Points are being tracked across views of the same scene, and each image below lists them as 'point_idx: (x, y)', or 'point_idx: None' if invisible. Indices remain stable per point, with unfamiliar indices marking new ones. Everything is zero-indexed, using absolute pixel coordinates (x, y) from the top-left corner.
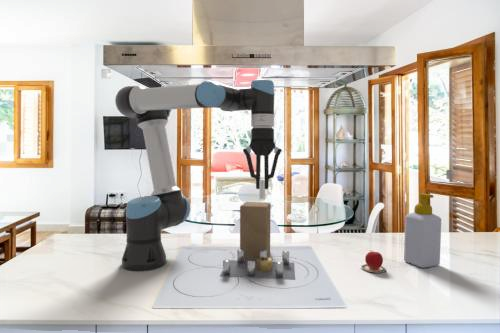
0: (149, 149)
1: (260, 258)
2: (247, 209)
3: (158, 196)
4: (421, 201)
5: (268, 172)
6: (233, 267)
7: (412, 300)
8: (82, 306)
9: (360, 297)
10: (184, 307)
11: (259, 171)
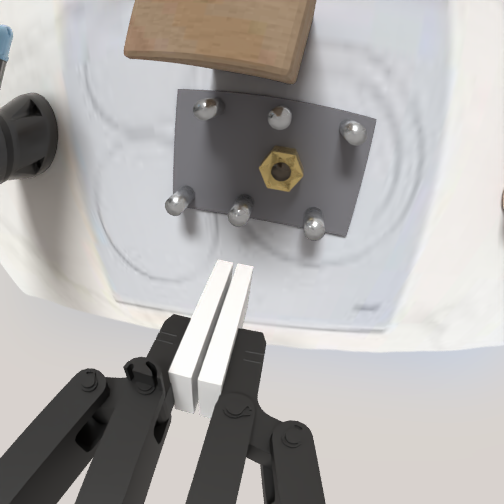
0: None
1: (268, 164)
2: (170, 60)
3: None
4: None
5: (244, 462)
6: (197, 147)
7: (477, 316)
8: (52, 284)
9: (424, 307)
10: (151, 306)
11: (153, 467)
